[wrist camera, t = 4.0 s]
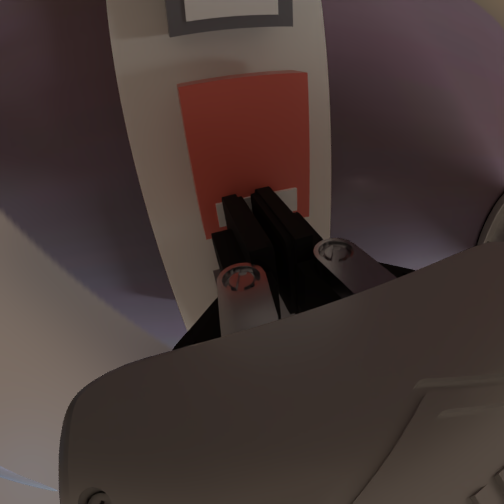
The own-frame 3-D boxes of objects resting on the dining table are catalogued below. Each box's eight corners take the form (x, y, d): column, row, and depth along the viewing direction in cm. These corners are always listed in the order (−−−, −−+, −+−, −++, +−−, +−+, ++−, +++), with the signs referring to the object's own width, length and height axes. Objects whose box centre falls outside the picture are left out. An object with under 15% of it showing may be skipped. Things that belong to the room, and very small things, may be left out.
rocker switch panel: (282, -52, 10) (315, -79, 6) (305, 270, 22) (330, 308, 19) (113, -36, 8) (100, -66, 5) (184, 301, 21) (191, 346, 17)
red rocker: (292, 70, 10) (309, 72, 9) (296, 201, 14) (310, 217, 13) (176, 84, 9) (178, 87, 8) (201, 221, 13) (206, 241, 12)
